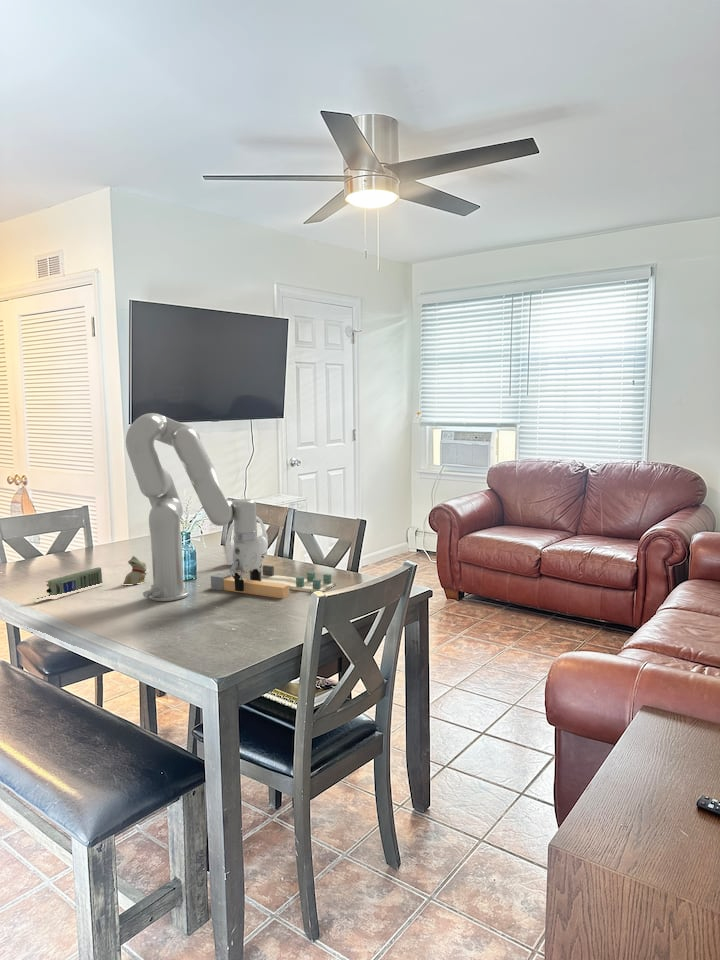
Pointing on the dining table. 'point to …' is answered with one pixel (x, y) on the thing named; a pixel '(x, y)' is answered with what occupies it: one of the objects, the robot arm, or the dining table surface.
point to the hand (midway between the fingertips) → (247, 587)
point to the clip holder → (297, 580)
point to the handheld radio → (74, 581)
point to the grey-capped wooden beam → (250, 586)
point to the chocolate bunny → (136, 572)
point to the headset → (262, 539)
